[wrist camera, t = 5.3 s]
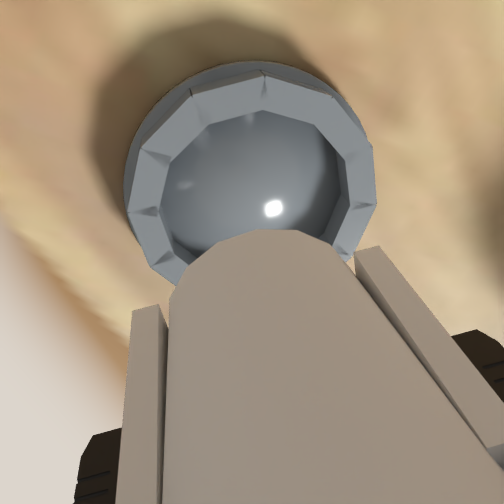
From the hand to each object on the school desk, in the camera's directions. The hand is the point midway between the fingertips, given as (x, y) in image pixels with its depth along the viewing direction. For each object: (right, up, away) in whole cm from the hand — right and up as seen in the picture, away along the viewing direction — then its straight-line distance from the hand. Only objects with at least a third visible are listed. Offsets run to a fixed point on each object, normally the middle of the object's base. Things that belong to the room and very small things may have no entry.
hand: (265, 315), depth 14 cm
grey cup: (0, 0, 0) cm, 0 cm away
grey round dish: (0, +5, +13) cm, 14 cm away
